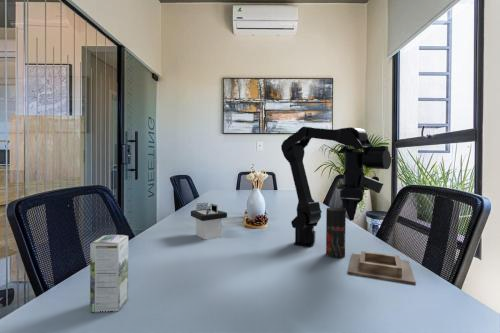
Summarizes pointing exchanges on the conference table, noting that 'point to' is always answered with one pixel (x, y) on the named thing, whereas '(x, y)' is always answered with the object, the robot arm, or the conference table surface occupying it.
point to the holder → (381, 267)
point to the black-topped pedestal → (208, 221)
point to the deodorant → (335, 232)
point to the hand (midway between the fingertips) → (352, 217)
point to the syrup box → (108, 273)
